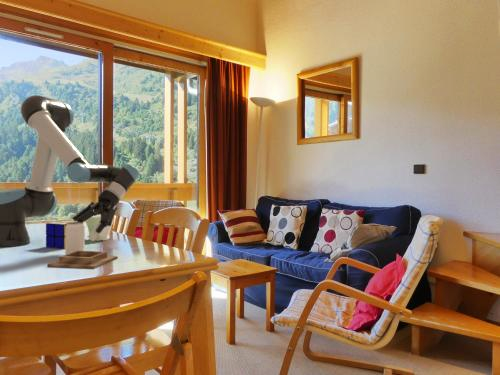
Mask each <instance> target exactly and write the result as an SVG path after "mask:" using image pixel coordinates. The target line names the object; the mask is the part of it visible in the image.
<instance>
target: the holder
mask: <svg viewBox="0 0 500 375" xmlns="http://www.w3.org/2000/svg"><path fill="white" fill-rule="evenodd" d="M58 258H59V260H56V261H53V262H50V263H47V268H48V267H49V268H73V269H97V268H99V267H102V266H104V265H106V264H108V263H111V262H114V261H115V260H117V259H118V258H119V257H118V256H117V255H109V254H108V251H95V250H92V251H91V250H85V251H76V252H73V253H70V254H67V255H66V254H63V255H61V256H59V257H58Z"/></svg>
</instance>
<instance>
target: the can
mask: <svg viewBox="0 0 500 375" xmlns="http://www.w3.org/2000/svg"><path fill="white" fill-rule="evenodd" d="M85 229H86V228H85V224H84V222H74V221H73V222H70V223H67V226H66V229H65V249H64V250H65V253H64V255H67V254H70V253H73V252H76V251H86V250H85V247H86V246H85V244H86V242H85V241H86V240H85V234H86V232H85Z"/></svg>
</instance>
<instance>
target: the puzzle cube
mask: <svg viewBox="0 0 500 375" xmlns="http://www.w3.org/2000/svg"><path fill="white" fill-rule="evenodd" d="M70 222H74V220H73V221H69V220H63V221H62V220H61V221H55V222H46V223H45V235H46V236H45V247H46V248H50V249H51V248H52V249H59V250H60V249H61V250H65V229H66V226H67V223H70Z"/></svg>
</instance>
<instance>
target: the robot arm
mask: <svg viewBox="0 0 500 375" xmlns="http://www.w3.org/2000/svg"><path fill="white" fill-rule="evenodd" d="M20 114H21V117H22V119H23V120H24V123H25V124H26V125H27V126H28V127H29V128H30V129H32V130H35V131H36V133H37V134H38V138H37V143H36V149H35V153H34V159H33V164H32V168H31V175H30V180H29V182H28V183H27V184H25V186H24V188H8V189H0V247H1V248H9V247H17V246H25V245H28V244H30V242H31V238H30V236H29V232H28V230H27V226H26V219H28V218H37V217H38V218H39V217H44V216H49V215H50V214H52V213H53V212H54V211H55V209H56V207H57V204H58V199H57V198H56V197H57V196H56V194H55V193H54V188H53V187H52V182H53V176H54V170H55V166H56V165H55V164H56V161H57V158H59V160H60V161H61V162H62V163H63V165H64V166H65V167H66V168H67V169H66V174H67V177H68V179H69V180H70V182H73V183H79V184H80V183H81V184H82V183H106V184H107V186H106V187H105V188H104V190H102V191H101V193H100V194H99V195H98V198H97V199H98V201H97V202H96V203H94V201H91V202H90V203H89V204H88V206H86V207H85V208H84V209H82V210H81V211H80V212H79V213H78V214H75V215H74V216H73V217H72V220H73V222H83V223H85V222H86V220H87V219H89V218H91V217H92V216H96V215H101V221H99V222H100V223H101V224H100V223H98V224H97V225H96V226H95V228H94V229H93V230H92V231H91V233H90V234H89V233H88V235H87V238H88V239H89V240H90V241H91V242H95V241H94V240H95V239H96V237H97V236H98V235H99V233H100V232H101V231H102V230H103V229H104V227H106V226H111V224H112V221H113V222H114V218H113V217H115V214H116V211H117V210H118V209H119V208H118V204H119V203H120V201H121V200H122V199H123V197H124V196H125V195H126V193H127V192H128V191H129V189H130V188H131V187H132V186H133V185H134V183H136V180H137V179H138V177H139V176H140V173H139V170H138V169H137V168H136V167H135V166H134V165H132V164H130V163H126V164H123V166H122V167H117V166H112V165H110V164H106V163H101V162H95V163H90V162H89V161H88V160H87V159H86V158H85V157H84V156H83V155H82V153H81V152H80V151H79V150H78V149H77V148H76V146H75V145H74V143H72V141H71V140H70V139H69V138H68V137H67V136H66V135H65V133H66V131H67V130H66V129H67V128H69V127H70V126H71V125H72V124H73V123H74V120H75V119H74V118H75V115H74V111H73V109H72V106H70V104H68V103H67V102H65V101H62V100H60V99H54V98H49V97H46V96H43V95H30V96H28V97H27V98H25V99H24V100H23V101H22V103H21V106H20ZM108 220H109V221H108ZM112 225H113V224H112ZM111 227H112V226H111Z"/></svg>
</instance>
